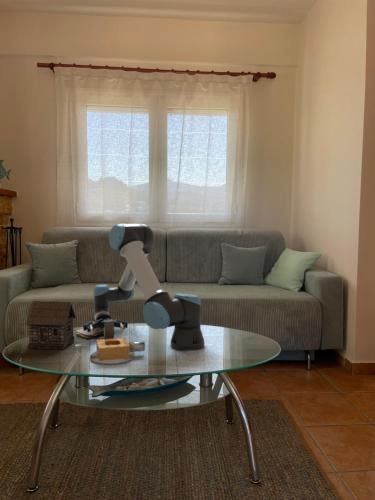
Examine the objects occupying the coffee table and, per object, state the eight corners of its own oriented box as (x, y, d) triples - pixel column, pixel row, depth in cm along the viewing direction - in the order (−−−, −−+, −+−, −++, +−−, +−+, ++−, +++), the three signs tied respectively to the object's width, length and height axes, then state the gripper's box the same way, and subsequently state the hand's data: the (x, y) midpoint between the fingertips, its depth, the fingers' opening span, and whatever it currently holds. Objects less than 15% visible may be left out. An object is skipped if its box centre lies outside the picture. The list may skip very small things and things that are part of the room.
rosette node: (140, 348, 185) (140, 334, 185) (148, 361, 168) (148, 346, 167) (88, 352, 179) (88, 338, 178) (91, 366, 162) (91, 351, 161)
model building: (25, 349, 183) (24, 304, 181) (39, 340, 197) (38, 297, 196) (66, 350, 182) (65, 304, 180) (77, 340, 196) (76, 298, 194)
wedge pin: (113, 345, 189) (112, 319, 188) (114, 348, 185) (113, 321, 184) (104, 346, 188) (103, 319, 187) (104, 348, 184) (104, 321, 183)
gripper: (128, 325, 212) (135, 336, 192) (77, 328, 205) (78, 341, 185) (128, 310, 211) (135, 320, 191) (77, 313, 204) (78, 324, 184)
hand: (107, 330), depth 188 cm, fingers open, 13 cm apart
